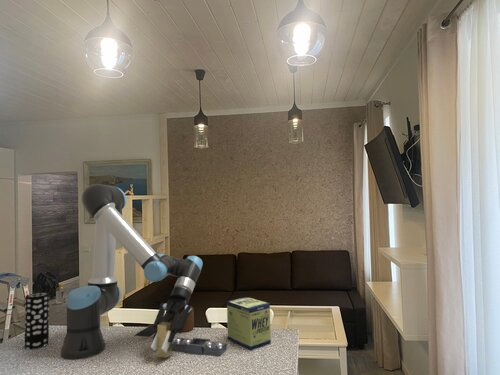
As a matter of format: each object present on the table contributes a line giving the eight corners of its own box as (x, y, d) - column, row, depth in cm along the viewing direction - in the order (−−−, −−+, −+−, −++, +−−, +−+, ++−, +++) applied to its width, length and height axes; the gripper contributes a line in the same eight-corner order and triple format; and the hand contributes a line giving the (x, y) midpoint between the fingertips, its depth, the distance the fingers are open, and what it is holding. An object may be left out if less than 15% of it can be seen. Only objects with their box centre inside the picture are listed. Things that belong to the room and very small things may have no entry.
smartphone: (132, 335, 147) (151, 323, 162) (132, 338, 147) (151, 326, 162) (149, 336, 145) (167, 324, 160) (149, 339, 145) (167, 327, 159)
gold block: (157, 356, 123) (157, 324, 124) (162, 352, 127) (163, 321, 128) (166, 357, 122) (166, 325, 123) (171, 353, 126) (171, 322, 126)
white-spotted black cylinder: (19, 348, 137) (20, 297, 139) (36, 340, 145) (37, 292, 147) (36, 349, 135) (37, 297, 137) (53, 342, 143) (54, 292, 145)
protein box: (251, 351, 129) (250, 308, 130) (226, 339, 141) (226, 300, 142) (271, 343, 136) (270, 303, 137) (246, 333, 148) (246, 296, 149)
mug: (185, 336, 146) (185, 313, 146) (169, 335, 148) (168, 313, 148) (196, 327, 157) (196, 306, 158) (181, 326, 159) (180, 305, 160)
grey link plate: (168, 350, 131) (168, 341, 131) (178, 343, 138) (178, 335, 138) (219, 356, 124) (219, 347, 125) (227, 349, 131) (227, 340, 131)
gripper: (204, 297, 137) (183, 357, 121) (168, 295, 143) (142, 351, 126) (198, 287, 133) (175, 347, 116) (160, 284, 138) (133, 342, 121)
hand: (158, 349), depth 121 cm, fingers closed on gold block, 4 cm apart
